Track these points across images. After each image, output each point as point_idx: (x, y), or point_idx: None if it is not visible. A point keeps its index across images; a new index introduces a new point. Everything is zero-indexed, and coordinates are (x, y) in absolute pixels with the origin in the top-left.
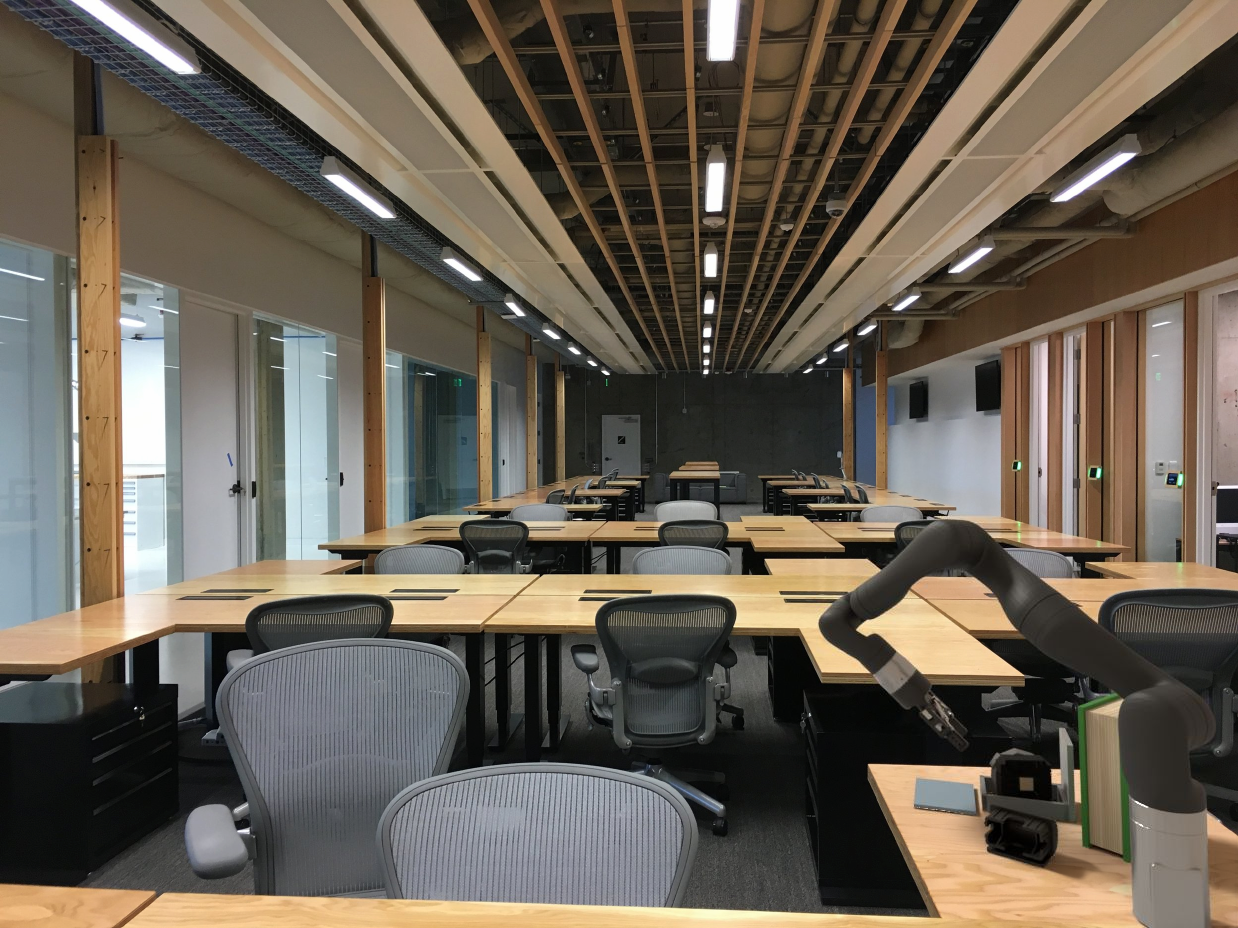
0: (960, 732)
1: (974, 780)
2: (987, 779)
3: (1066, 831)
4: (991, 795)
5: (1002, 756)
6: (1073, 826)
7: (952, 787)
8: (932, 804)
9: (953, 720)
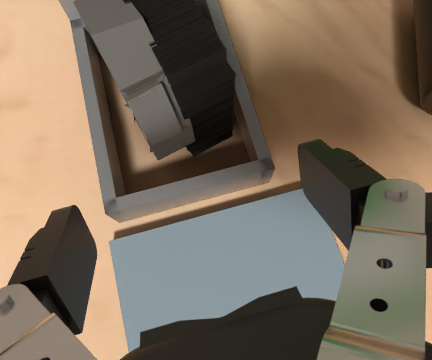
0: (83, 243)
1: None
2: (116, 190)
3: (272, 14)
4: (260, 145)
5: (195, 63)
6: (236, 8)
7: (170, 289)
8: None
9: (56, 279)
